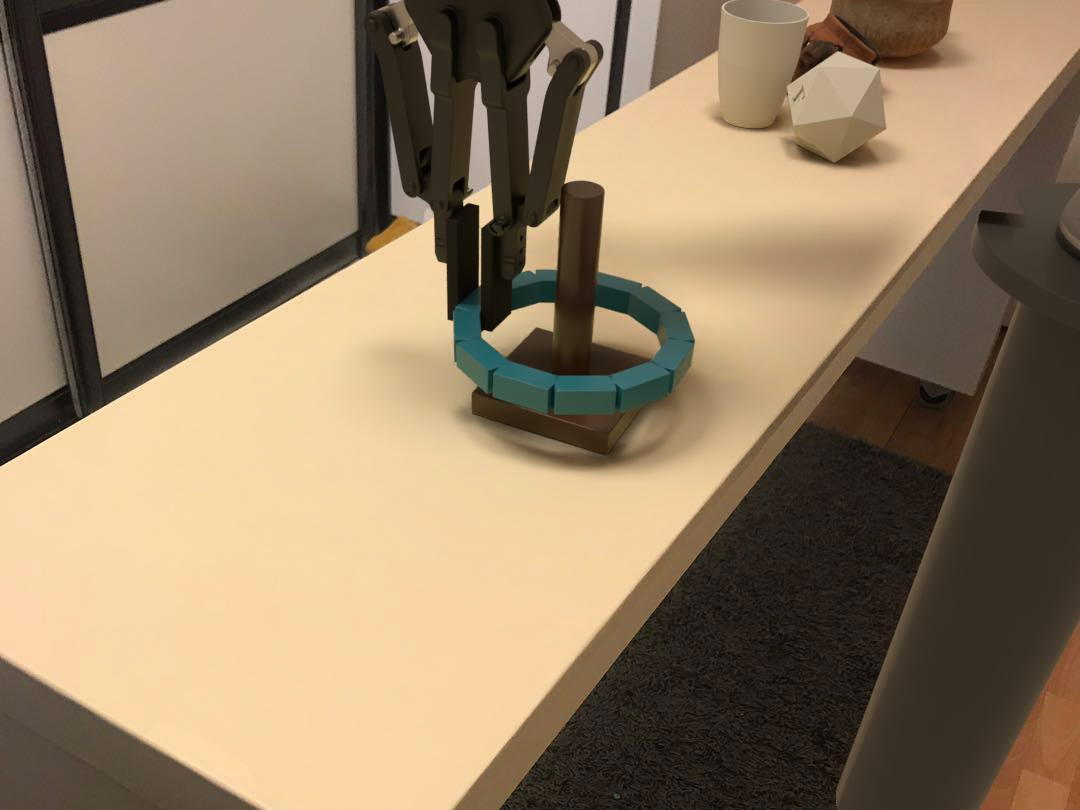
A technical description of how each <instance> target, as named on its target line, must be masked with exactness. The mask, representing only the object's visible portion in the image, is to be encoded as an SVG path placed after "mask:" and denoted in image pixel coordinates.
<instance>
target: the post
mask: <svg viewBox="0 0 1080 810" xmlns="http://www.w3.org/2000/svg"><path fill="white" fill-rule="evenodd" d="M605 195H606V190H605V188H604V186H603V185H601V184H600V183H597V182H594V181H589V180H572V181H571V180H570V181H567V182H565V183H564V185H563V186H562V187H561V197H560V206H559V215H558V233H557V235H558V236H557V252H556V268H555V270H556V287H555V303H554V307H553V308H554V309H553V322H552V323H553V326H552V330H549V329H544V328H541V327H537V326H536V327H535V328H534V329H532V331H531V332H530V333H529V334H528V335H527V336H526V337H524V339H523V340H522V341H521V342H520V343H519V344H517V346H516V347H514V349H513V350H512V351H511V352H510V353H508V355H507V356H506V357H505V358H506V359H507V360H509V361H511V362H514V363H517V364H521V365H524V366H527V367H530V368H534V369H537V370H540V371H544V372H547V373H550V374H554V375H557V376H609V375H612V374H615V373H618V372H621V371H624V370H627V369H630V368H633V367H635V366H638V365H641V364H644V363H647V362H650V361H651V360H652V359H653V358H652V359H651V358H649V357H645V356H642V355H638V354H634V353H630V352H626V351H624V350H619V349H616V348H613V347H608V346H605V345H603V344H598V343H595V342H593V338H594V327H595V316H596V314H595V313H596V306H595V304H596V292H597V280H598V272H599V267H600V255H601V242H602V231H603V221H604V220H603V218H604V207H605ZM642 408H643V406H640V407H638V408H635V409H632V410H629V411H627V412H624V413H620V412H618V411H617V410H616V409H615V411H614V414H596V415H555V414H554V412H553V407H552V408H551V409H550V411H549V412H548V413H547V414H546V413H543V412H539V411H536V410H533V409H530V408H527V407H523V406H520V405H517V404H514V403H511V402H507V401H504V400H501V399H498V398H495V397H493V392H492V393H489V394H487V393H486V392H484V391H483V390H482V389H481V388H480V387H479V386H478V385H477V386H476V387H475V388H474V390H473V391H472V392H471V413H472V414H474V415H478V416H480V417H484V418H486V419H490V420H494V421H497V422H500V423H503V424H507V425H510V426H512V427H516V428H519V429H522V430H526V431H528V432H532V433H535V434H538V435H540V436H545V437H548V438H551V439H555V440H556V441H557V440H558V441H560V442H564V443H567V444H570V445H574V446H577V447H580V448H583V449H586V450H589V451H592V452H596V453H598V454H602V455H606V456H607V455H608V454H609V452H610V451H611V450H612V448H613V447H614V445H616V443H617V441H618V440H619V439H620V438H621V436H622V435H623V433H624V432H625V431H626V430H627V428H628V427H629V426H630V424H631V422H633V420H634V418H635V417H636V416H637V415H638V414H639V412H640V411H641V409H642Z"/></svg>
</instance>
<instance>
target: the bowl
mask: <svg viewBox="0 0 1080 810" xmlns="http://www.w3.org/2000/svg"><path fill="white" fill-rule="evenodd" d="M953 4H954V0H831V4H830V8H829V11H828V13H833V14H835V15H837V16H839V17H841V18H842V19H843V20H845V21H846V22H847V23H849V24H850V25H851V26H853V27H854V28H855V29H856V30H857V31H858V32H859V33H861V34H862V35H863V36H864V37H865V38H866V39H867V40H868V41H869V42H870V43H871V44H872V45H873V46H874V47H875V48H876V49H877V50H878V52H879V53H880V55H881V57H883V58H905V57H911V56H915V55H918V54H921V53H923V52H926V51H928V50H930V49H932V48H933V47H935V46H937V45H938V44H939V43H940V42H941V41H942V40H943V39H944V38H945V37H946V35H947V33H948V30H949V27H950V20H951V13H952V8H953Z"/></svg>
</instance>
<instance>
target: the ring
mask: <svg viewBox="0 0 1080 810" xmlns="http://www.w3.org/2000/svg"><path fill="white" fill-rule="evenodd" d="M555 287H556V269H545V268H544V269H542V268H541V269H540V268H539V269H535V273H534V272H533V271H532V270H531V269H530V270H529V269H528V270H525V271H522V272H521V273H520V274H519V275H518V276H517V277H515V278H514V279H513V280H512V310H511V312H513V311H517V310H520V309H524V308H527V307H530V306H533V305H537V304H542V303H543V304H555ZM595 307H598V308H602V309H605V310H609V311H612V312H616V313H620V314H624V315H626V316H629V317H630V318H632V319H633V320H634V321H636V322H637V323H638V324H640V325H642V327H644V328H645V329H646V330H648V331H650V332H651V333H653V334H654V335H656V336H657V337H656V338H657V341H658V344H659V347H660V348H659V350H658V351H657V352H656V353H655V354H654V356H653V357H652V360H651V361H650V362H647V363H644V364H641V365H638V366H635V367H633V368H630V369H627V370H624V371H621V372H618V373H615V374H612V375H609V376H557V375H554V374H550V373H547V372H544V371H540V370H537V369H534V368H530V367H527V366H524V365H521V364H517V363H514V362H511V361H509V360H507V359H506V357H505V356H504V355H503V354H501V353H500V352H499V351H498V350H497V349H496V348H495V347H493V346H492V345H491V344H490V343H488V341H486V340H485V339H484V338H483V337H482V333H483V332H484V331H485V330H482V329H481V284H479V287H478V288H476V289H475V290H474V291H473V292H472V293H471V294H470V295H469V296H467V297H466V298H465V299H464V300H463V301H462V302H461V303H459V304H458V305H457V306H456V307H455V311H453V321H452V339H453V341H452V343H453V362H454V363H455V365H456V368H458V369H459V370H460V371H461V372H462V373H463V374H464V375H466V377H467V378H469V380H471V381H472V382H473V383H474V384H475V385H476V386H477V387H478V386H479V387H480V388H481V389H482V390H483V391H484V392H486V393H487V394H489V393H492V392H493V397H495V398H498V399H501V400H504V401H507V402H511V403H514V404H517V405H520V406H523V407H527V408H530V409H533V410H536V411H539V412H543V413H546V414H547V413H548V412H549V411H550V409H551V408H552V407H553V412H554V414H555V415H596V414H614V411H615V409H616V410H617V411H618V412H620V413H624V412H627V411H629V410H632V409H635V408H638V407H640V406H642V407H643V406H646V405H649V404H651V403H654V402H656V401H659V400H662V399H665V398H667V397H668V395H669V394H673V392H674V391H675V389H676V388H677V387H678V385H679V384H680V382H681V381H682V380H683V378H684V377H685V376H686V374H687V372H688V371H689V370H690V368H691V367H692V362H693V361H692V360H693V357H694V350H695V343H696V339H695V336H694V333H693V330H692V328H691V325H690V322H689V320H688V317H687V314H686V311H682V307H680V306H679V305H677V304H676V303H674V302H672V301H671V300H670V299H668V298H667V297H665V296H663V294H661V293H659V292H658V291H656V290H655V289H654V288H652V287H650V286H648V285H645V286H643V283H642V282H638V281H635V280H631V279H627V278H624V277H619V276H617V275H613V274H609V273H606V272H605V273H604V272H601V271H598V280H597V292H596V304H595Z"/></svg>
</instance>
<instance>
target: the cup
mask: <svg viewBox="0 0 1080 810" xmlns="http://www.w3.org/2000/svg"><path fill="white" fill-rule="evenodd" d="M720 11H721V12H720V13H721V14H720V23H719V35H718V46H717V47H718V48H717V83H718V84H717V85H718V87H717V88H718V89H717V91H718V98H719V103H720V105H719V106H720V111H721V118H722V120H723V121H724V122H726V123H728V124H730V125H732V126H735V127H738V128H745V129H762V128H767V127H769V126H771V125H772V124H773V123H774V122H775V119H776V118H777V116H778V114H779V111H780V109H781V107H782V106H783V103H784V101H785V100H786V97H787V96H788V94H787V92H788V91H787V86H788V85H789V84H790V83H791V80H792V77H793V75H794V72H795V69H796V66H797V63H798V60H799V56H800V52H801V48H802V44H803V39H804V35H805V31H806V27H808V23H809V19H810V13H809V11H808V10H807V9H806V8H804V7H802V6H800V5H797V4H795V3H792V2H787V1H783V0H728V1H726V2H724V3H723V4H722V5H721V10H720Z"/></svg>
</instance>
